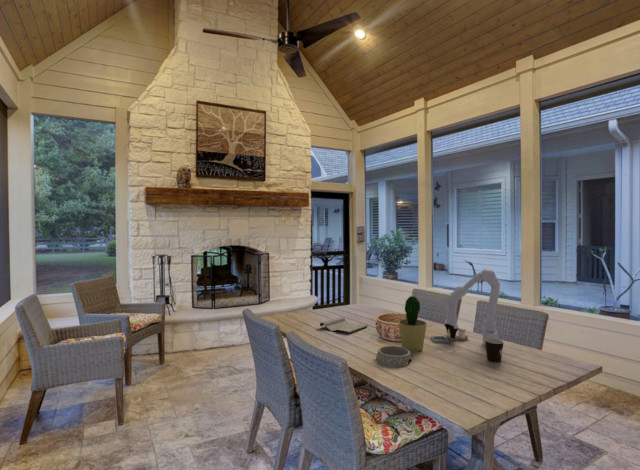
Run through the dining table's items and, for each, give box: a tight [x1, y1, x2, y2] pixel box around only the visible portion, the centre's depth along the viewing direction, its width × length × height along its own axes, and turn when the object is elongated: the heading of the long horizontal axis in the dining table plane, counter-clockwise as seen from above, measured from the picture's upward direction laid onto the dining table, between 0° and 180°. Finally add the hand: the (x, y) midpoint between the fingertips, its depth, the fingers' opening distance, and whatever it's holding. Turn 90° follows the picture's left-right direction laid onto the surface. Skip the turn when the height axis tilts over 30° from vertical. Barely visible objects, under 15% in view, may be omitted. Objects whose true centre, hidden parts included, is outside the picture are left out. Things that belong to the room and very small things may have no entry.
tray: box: [430, 335, 450, 344], centre depth 224 cm, size 8×8×2 cm
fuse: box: [457, 327, 466, 340], centre depth 227 cm, size 4×4×6 cm
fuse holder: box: [444, 334, 471, 342], centre depth 227 cm, size 7×14×3 cm, turn 93°
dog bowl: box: [375, 345, 413, 368], centre depth 194 cm, size 17×18×5 cm
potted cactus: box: [398, 295, 428, 353], centre depth 212 cm, size 15×15×30 cm
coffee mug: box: [485, 339, 505, 363], centre depth 194 cm, size 12×9×10 cm
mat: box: [319, 316, 369, 334], centre depth 254 cm, size 23×24×5 cm
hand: (451, 337), depth 227 cm, fingers closed on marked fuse, 4 cm apart
